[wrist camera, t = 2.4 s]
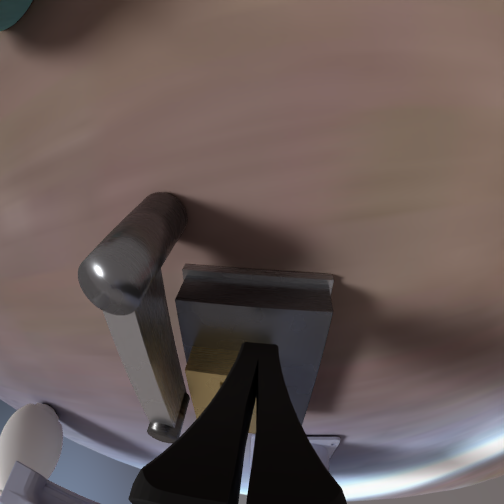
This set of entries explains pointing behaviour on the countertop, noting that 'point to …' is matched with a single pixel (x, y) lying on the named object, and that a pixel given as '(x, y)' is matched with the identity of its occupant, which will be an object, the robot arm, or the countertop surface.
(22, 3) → the cupcake
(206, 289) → the grey rectangular plate
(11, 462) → the sauce bottle
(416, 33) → the countertop surface
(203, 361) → the yellow slotted box
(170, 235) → the lever
